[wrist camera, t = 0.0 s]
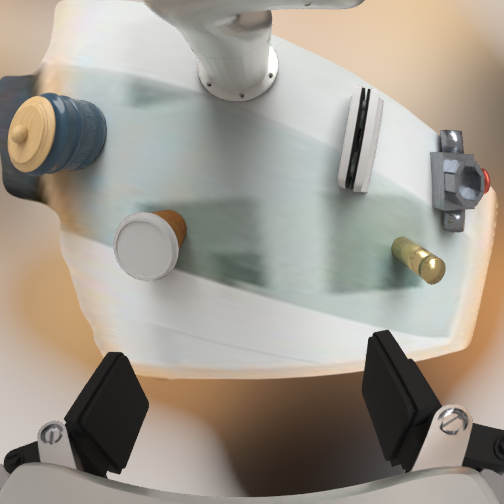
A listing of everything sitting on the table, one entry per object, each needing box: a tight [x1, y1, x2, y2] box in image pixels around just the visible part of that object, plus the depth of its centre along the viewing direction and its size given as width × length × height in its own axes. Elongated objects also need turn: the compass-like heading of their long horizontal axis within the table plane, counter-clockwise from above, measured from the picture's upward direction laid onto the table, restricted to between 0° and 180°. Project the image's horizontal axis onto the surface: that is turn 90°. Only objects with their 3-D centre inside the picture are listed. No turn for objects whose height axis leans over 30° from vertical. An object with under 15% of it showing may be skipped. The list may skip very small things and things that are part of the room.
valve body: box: [430, 130, 490, 232], centre depth 38 cm, size 18×12×7 cm, turn 7°
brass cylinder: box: [392, 237, 445, 284], centre depth 40 cm, size 4×4×12 cm
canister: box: [8, 93, 106, 176], centre depth 33 cm, size 13×13×18 cm
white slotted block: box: [337, 86, 384, 193], centre depth 37 cm, size 17×5×10 cm, turn 170°
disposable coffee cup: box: [113, 210, 187, 281], centre depth 40 cm, size 10×10×12 cm
